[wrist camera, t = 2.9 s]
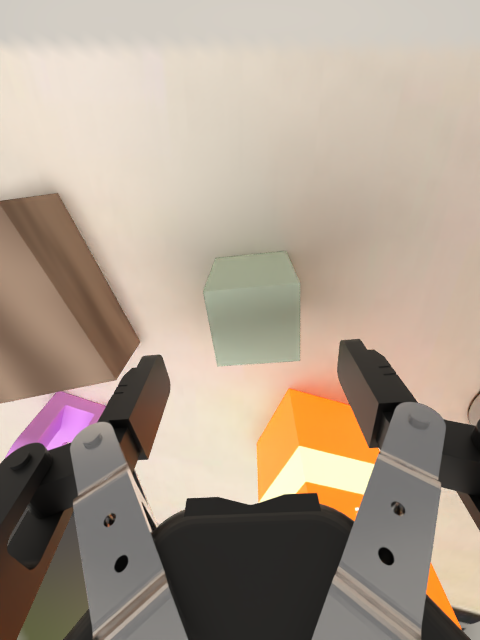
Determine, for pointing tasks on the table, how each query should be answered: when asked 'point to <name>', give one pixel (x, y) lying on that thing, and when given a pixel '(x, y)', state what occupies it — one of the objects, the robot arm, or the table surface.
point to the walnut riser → (54, 305)
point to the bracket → (59, 421)
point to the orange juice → (322, 461)
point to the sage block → (254, 309)
